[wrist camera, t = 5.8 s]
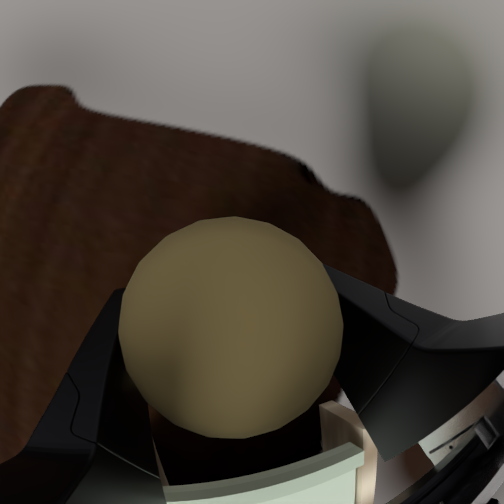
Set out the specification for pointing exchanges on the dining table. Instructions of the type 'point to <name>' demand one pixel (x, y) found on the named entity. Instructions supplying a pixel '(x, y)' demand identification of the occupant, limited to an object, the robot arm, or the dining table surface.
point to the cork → (230, 328)
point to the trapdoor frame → (334, 435)
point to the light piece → (282, 483)
